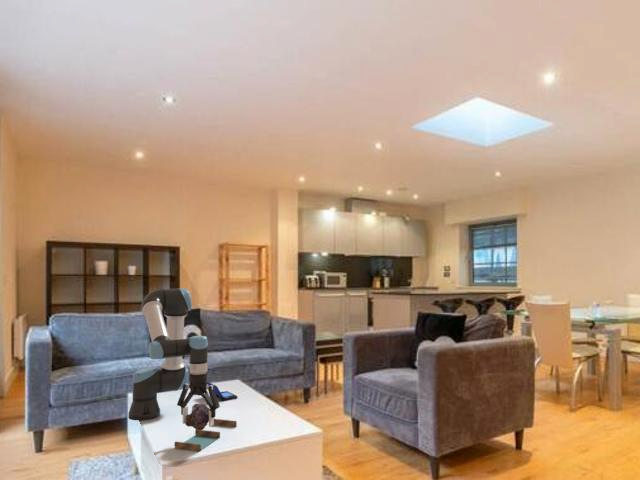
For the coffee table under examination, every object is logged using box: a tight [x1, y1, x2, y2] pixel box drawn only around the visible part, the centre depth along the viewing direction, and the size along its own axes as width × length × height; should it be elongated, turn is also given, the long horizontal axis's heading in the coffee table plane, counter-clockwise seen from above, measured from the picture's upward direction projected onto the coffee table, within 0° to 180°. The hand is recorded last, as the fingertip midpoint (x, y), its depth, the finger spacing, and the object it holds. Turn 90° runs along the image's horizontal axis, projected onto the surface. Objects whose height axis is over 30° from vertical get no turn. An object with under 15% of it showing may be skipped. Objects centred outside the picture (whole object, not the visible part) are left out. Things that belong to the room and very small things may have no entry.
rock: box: [184, 403, 211, 430], centre depth 192 cm, size 12×9×10 cm
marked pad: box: [183, 435, 219, 451], centre depth 191 cm, size 12×13×1 cm
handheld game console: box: [207, 381, 238, 402], centre depth 261 cm, size 16×13×9 cm
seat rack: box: [174, 418, 238, 453], centre depth 199 cm, size 12×31×2 cm, turn 162°
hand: (198, 424), depth 192 cm, fingers closed on rock, 12 cm apart
